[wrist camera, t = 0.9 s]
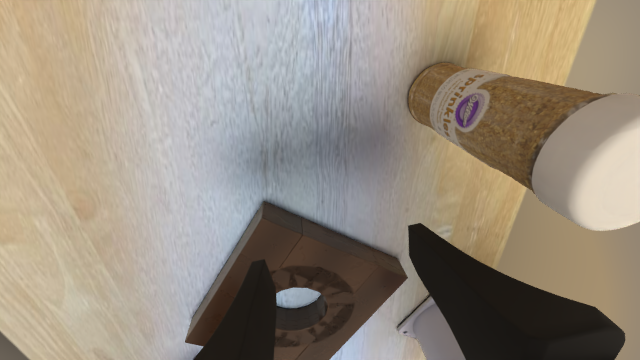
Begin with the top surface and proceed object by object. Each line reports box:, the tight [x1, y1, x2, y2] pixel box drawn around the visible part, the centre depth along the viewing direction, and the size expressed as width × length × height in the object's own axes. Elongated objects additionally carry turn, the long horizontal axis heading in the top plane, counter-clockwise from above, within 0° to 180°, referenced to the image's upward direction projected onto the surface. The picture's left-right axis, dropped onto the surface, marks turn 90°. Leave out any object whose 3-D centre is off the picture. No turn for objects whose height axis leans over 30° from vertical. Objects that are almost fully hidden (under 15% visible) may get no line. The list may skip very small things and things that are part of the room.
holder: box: [185, 201, 408, 360], centre depth 27 cm, size 15×16×2 cm
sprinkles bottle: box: [408, 63, 640, 231], centre depth 15 cm, size 5×5×14 cm
